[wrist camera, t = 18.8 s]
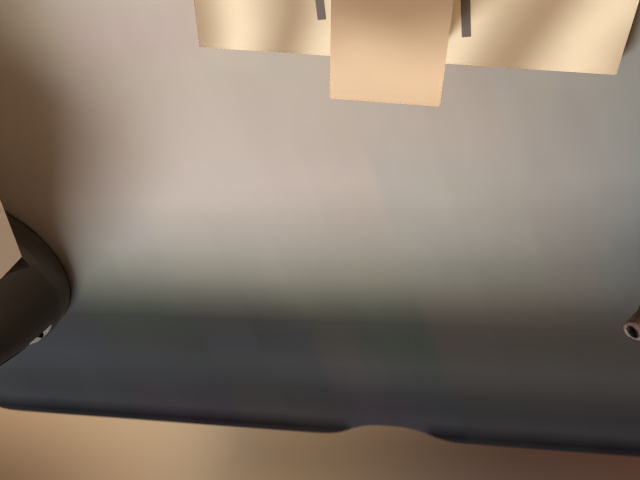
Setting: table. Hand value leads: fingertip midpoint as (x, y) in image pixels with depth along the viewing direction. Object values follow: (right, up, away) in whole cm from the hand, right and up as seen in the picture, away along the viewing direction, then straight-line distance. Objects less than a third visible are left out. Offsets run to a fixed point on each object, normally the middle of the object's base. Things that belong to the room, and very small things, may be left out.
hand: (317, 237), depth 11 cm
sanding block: (+5, +15, +20) cm, 25 cm away
